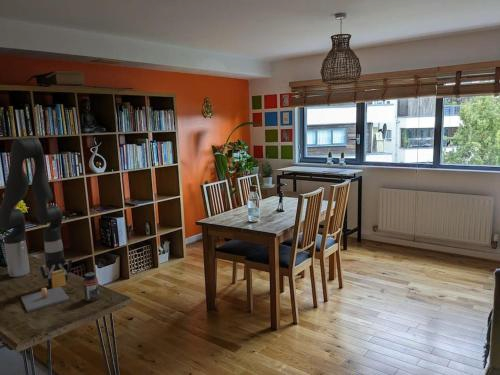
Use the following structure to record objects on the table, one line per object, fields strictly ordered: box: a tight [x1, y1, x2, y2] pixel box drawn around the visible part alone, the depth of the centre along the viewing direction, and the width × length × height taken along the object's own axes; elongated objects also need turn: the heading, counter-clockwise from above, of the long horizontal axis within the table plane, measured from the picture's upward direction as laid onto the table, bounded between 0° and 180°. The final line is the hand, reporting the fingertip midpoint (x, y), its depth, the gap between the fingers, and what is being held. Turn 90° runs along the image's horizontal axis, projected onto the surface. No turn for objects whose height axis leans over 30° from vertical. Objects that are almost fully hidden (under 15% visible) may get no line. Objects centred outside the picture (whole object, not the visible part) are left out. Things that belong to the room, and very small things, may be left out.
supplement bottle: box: [82, 271, 101, 302], centre depth 168 cm, size 6×6×11 cm
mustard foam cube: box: [51, 270, 67, 289], centre depth 183 cm, size 6×6×6 cm
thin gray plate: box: [20, 286, 71, 313], centre depth 169 cm, size 16×16×5 cm
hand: (58, 283), depth 184 cm, fingers closed on mustard foam cube, 5 cm apart
